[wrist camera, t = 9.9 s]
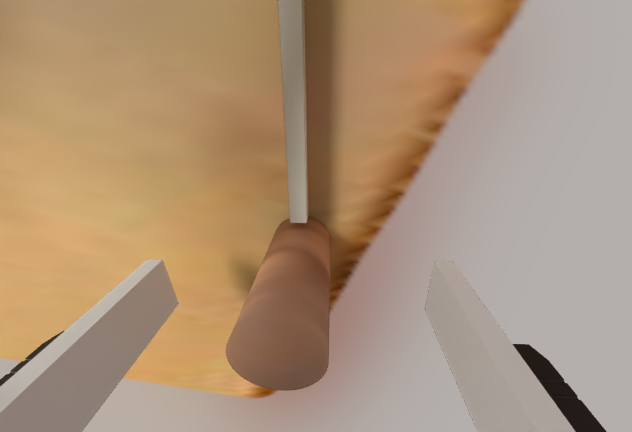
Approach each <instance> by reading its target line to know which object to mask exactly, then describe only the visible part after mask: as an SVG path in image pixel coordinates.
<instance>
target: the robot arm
mask: <svg viewBox="0 0 632 432" xmlns="http://www.w3.org/2000/svg"><path fill="white" fill-rule="evenodd" d="M178 304H179V303H178V300H177V298H176V295H175V292H174V290H173V287H172V284H171V281H170V279H169V276H168V273H167V271H166V268H165V265H164V262H163V260H146V261H145V262H144V263H143V264H141V265H140V266H139V267H138V268H137V269H136V270H135V271H133V272H132V273H131V274H130V275H129V276H128V277H126V278H125V279H124V280H123V281H122V282H121V283H119V284H118V285H117V286H116V287H115V288H114V289H113V290H111V291H110V292H109V293H108V294H107V295H106V296H104V297H103V298H102V299H101V300H100V301H99V302H98V303H96V304H95V305H94V306H93V307H92V308H91V309H89V310H88V311H87V312H86V313H85V314H84V315H83V316H81V317H80V318H79V319H78V320H77V321H76V322H74V323H73V324H72V325H71V326H70V327H69V328H67V329H66V330H65V331H62V332H61V333H59V334H58V335H56V336H54V337H53V338H51V339H50V340H48V341H46V342H45V343H43V344H42V345H41V346H40V347H38V348H37V349H36V350H35V351H34V352H32V353H31V354H30V355H29V356H28V357H27V358H26V360H25V361H22V362H21V363H19V364H18V365H17V366H16V367H15V368H14V369H12V370H11V372H10V374H7V375H5V376H4V377H3V378H2V379H0V432H82V431H83V430H84V428H85V427H86V426H87V424H88V423H89V422H90V420H91V419H92V418H93V417H94V415H95V414H96V413H97V411H98V410H99V409H100V407H101V406H102V404H103V403H104V402H105V401H106V399H107V398H108V397H109V395H110V394H111V393H112V391H113V390H114V389H115V387H116V386H117V385H118V383H119V382H120V381H121V379H122V378H123V377H124V375H125V374H126V373H127V371H128V370H129V369H130V368H131V366H132V365H133V364H134V362H135V361H136V360H137V358H138V357H139V356H140V354H141V353H142V352H143V350H144V349H145V348H146V346H147V345H148V344H149V342H150V341H151V340H152V338H153V337H154V336H155V334H156V333H157V332H158V330H159V329H160V328H161V326H162V325H163V324H164V322H165V321H166V320H167V319H168V317H169V316H170V315H171V313H172V312H173V311H174V309H175V308H176V307H177V305H178ZM425 310H426V313H427V315H428V317H429V320H430V322H431V324H432V327H433V329H434V331H435V333H436V336H437V338H438V340H439V343H440V345H441V347H442V350H443V352H444V355H445V357H446V359H447V362H448V364H449V366H450V368H451V371H452V373H453V376H454V378H455V380H456V383H457V385H458V387H459V389H460V392H461V394H462V397H463V399H464V401H465V403H466V406H467V408H468V411H469V413H470V415H471V418H472V420H473V422H474V424H475V427H476V429H477V431H478V432H606V430H605V429H604V428H603V427H602V426H601V424H600V423H599V422H598V421H597V420H596V418H595V417H594V416H593V415H592V414H591V412H590V411H589V410H588V408H587V407H586V406H585V405H584V403H583V402H582V401H581V400H579V399H578V398H577V395H576V394H575V392H574V391H573V390H572V389H571V388H570V386H569V385H568V384H567V383H565V382H564V379H563V378H562V377H561V375H560V374H559V373H558V372H557V370H556V369H555V368H554V367H553V366H552V364H551V363H550V362H549V361H548V360H547V359H546V358H545V357H543V356H542V355H541V354H540V353H538V352H537V351H536V350H535V349H534V348H532V347H531V346H530V345H525V344H512V343H511V342H510V340H509V339H508V337H507V336H506V335H505V333H504V332H503V331H502V329H501V328H500V326H499V325H498V324H497V322H496V321H495V320H494V318H493V317H492V315H491V314H490V313H489V311H488V310H487V308H486V307H485V306H484V304H483V303H482V301H481V300H480V299H479V297H478V296H477V295H476V293H475V292H474V290H473V289H472V288H471V286H470V285H469V283H468V282H467V281H466V279H465V278H464V277H463V276H462V274H461V273H460V271H459V270H458V268H457V267H456V265H455V264H454V263H453V262H434V266H433V271H432V276H431V281H430V286H429V291H428V296H427V301H426V306H425Z"/></svg>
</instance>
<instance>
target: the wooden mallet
mask: <svg viewBox="0 0 632 432" xmlns="http://www.w3.org/2000/svg"><path fill="white" fill-rule="evenodd" d="M278 8H279V27H280V46H281V64H282V83H283V101H284V120H285V138H286V157H287V176H288V194H289V213H290V218H289V219H287V220H285V221H284V222H282V223H281V224H280V225H279V227H278V228H277V230H276V232H275V235H274V237H273V239H272V242H271V244H270V246H269V249H268V251H267V253H266V255H265V258H264V260H263V262H262V265H261V267H260V269H259V272H258V274H257V276H256V278H255V281H254V283H253V285H252V288H251V290H250V292H249V294H248V297H247V299H246V301H245V304H244V306H243V308H242V311H241V313H240V315H239V317H238V320H237V322H236V324H235V327H234V329H233V331H232V334H231V336H230V338H229V340H228V343H227V346H226V356H227V359H228V362H229V363H230V365H231V367H232V368H233V369H234V370H235V371H236V372H237V373H238V374H239V375H240V376H241V377H243V378H244V379H246V380H247V381H249V382H251V383H253V384H256V385H258V386H261V387H264V388H268V389H274V390H297V389H302V388H305V387H308V386H310V385H312V384H314V383H316V382H317V381H319V380H320V379H321V378H322V377H323V376H324V374H325V373H326V371H327V368H328V357H329V312H330V265H331V238H330V234H329V232H328V230H327V229H326V227H325V226H324V225H323V224H322V223H321V222H319V221H318V220H316V219H314V218H311V217H308V182H307V128H306V73H305V18H304V0H278Z"/></svg>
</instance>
